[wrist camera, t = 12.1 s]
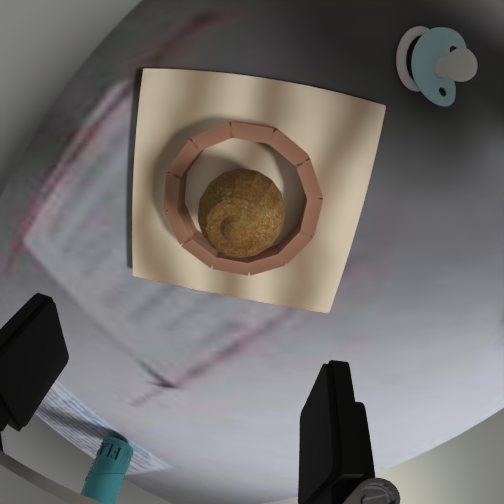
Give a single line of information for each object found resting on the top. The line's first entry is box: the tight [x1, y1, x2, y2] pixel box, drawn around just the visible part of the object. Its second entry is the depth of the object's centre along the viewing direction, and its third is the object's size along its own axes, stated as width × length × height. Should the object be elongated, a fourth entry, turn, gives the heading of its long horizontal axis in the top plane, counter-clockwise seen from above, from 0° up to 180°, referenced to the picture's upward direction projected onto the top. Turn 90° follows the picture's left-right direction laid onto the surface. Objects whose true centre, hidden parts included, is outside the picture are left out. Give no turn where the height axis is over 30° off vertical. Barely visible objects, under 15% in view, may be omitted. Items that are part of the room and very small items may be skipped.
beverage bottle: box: [81, 437, 133, 504], centre depth 42 cm, size 6×7×20 cm
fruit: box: [198, 168, 286, 258], centre depth 23 cm, size 6×6×8 cm
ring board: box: [132, 69, 386, 313], centre depth 26 cm, size 20×20×3 cm
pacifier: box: [396, 26, 478, 106], centre depth 18 cm, size 7×6×6 cm
